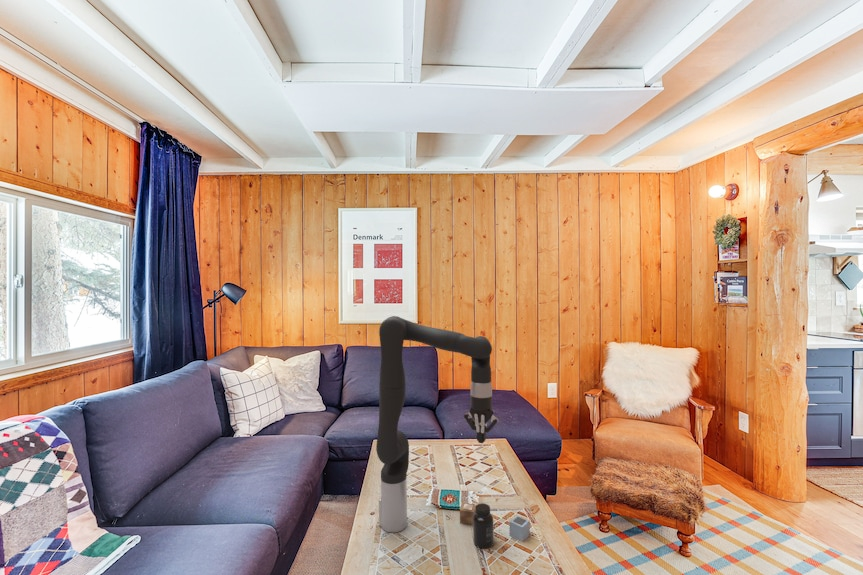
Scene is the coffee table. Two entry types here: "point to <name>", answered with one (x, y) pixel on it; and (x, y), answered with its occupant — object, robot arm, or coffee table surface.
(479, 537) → the supplement bottle
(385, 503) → the robot arm
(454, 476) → the coffee table surface
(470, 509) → the walnut block
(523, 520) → the slate-blue block
